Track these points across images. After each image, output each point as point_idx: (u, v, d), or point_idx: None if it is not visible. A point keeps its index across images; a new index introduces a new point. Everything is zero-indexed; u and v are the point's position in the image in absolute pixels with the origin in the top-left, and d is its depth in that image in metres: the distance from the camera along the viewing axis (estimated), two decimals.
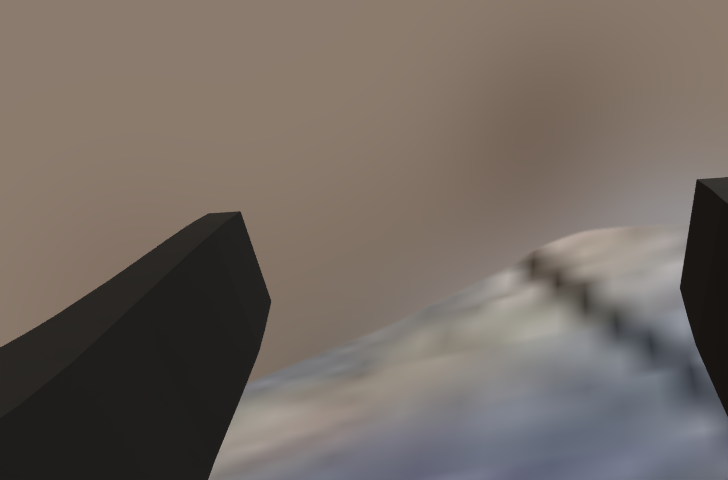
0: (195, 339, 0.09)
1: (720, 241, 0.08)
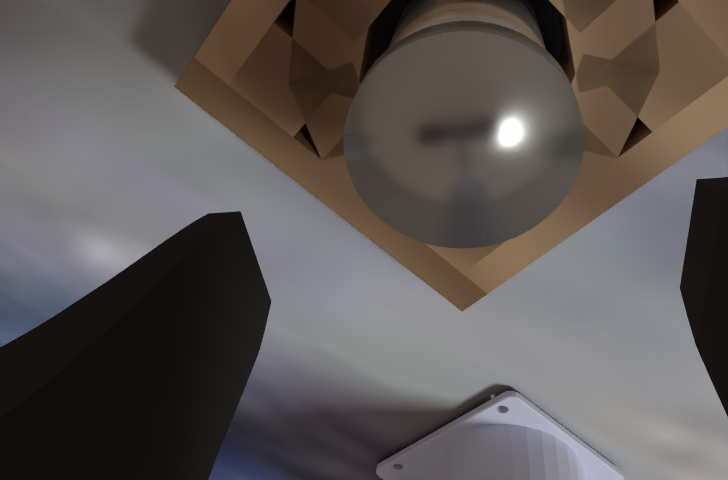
0: (195, 339, 0.09)
1: (720, 241, 0.08)
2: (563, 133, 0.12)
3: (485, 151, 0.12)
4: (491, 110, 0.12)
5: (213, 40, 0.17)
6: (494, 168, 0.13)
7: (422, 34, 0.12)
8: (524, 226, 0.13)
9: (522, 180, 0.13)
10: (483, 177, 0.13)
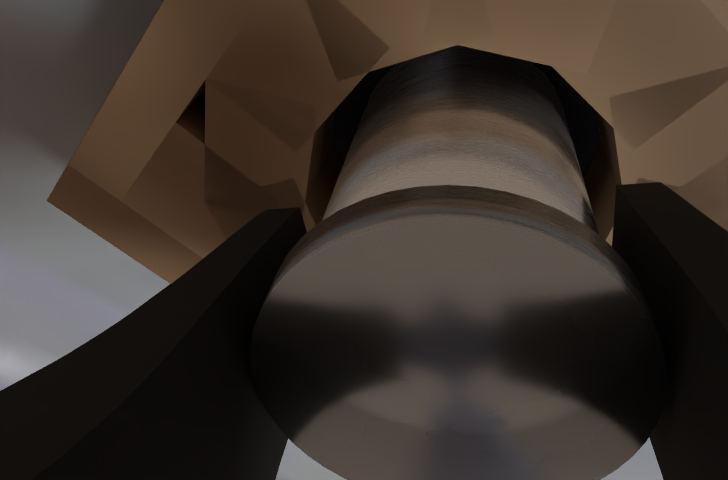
0: None
1: (631, 245, 0.08)
2: (629, 381, 0.07)
3: (490, 395, 0.07)
4: (501, 341, 0.07)
5: (92, 143, 0.11)
6: (505, 417, 0.07)
7: (376, 212, 0.06)
8: None
9: (553, 435, 0.07)
10: (487, 427, 0.08)
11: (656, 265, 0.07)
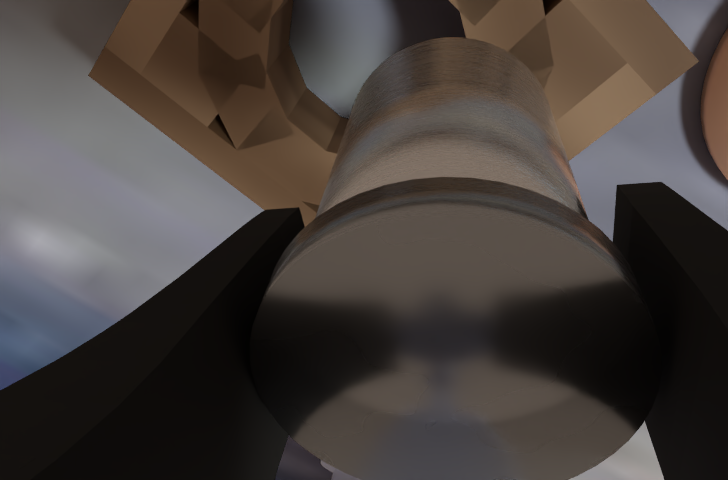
0: None
1: (632, 245, 0.08)
2: (625, 365, 0.07)
3: (489, 384, 0.07)
4: (499, 329, 0.07)
5: (122, 30, 0.17)
6: (504, 406, 0.08)
7: (374, 206, 0.06)
8: (552, 477, 0.08)
9: (551, 422, 0.08)
10: (486, 417, 0.08)
11: (657, 265, 0.07)
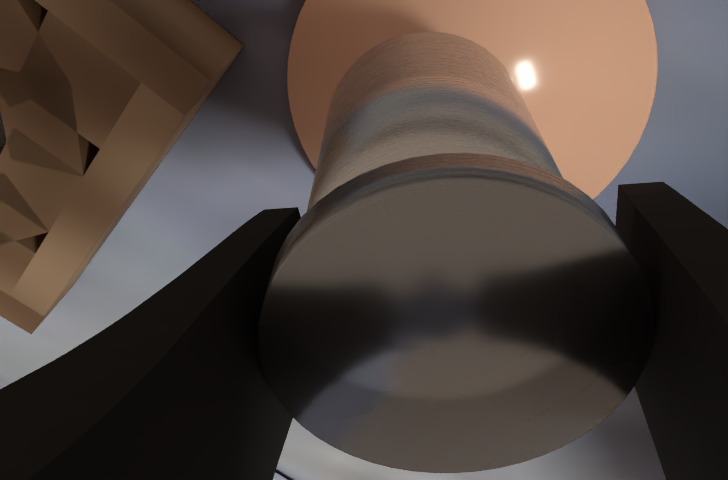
0: None
1: (634, 245, 0.08)
2: (620, 323, 0.07)
3: (493, 352, 0.08)
4: (502, 297, 0.07)
5: None
6: (508, 373, 0.08)
7: (377, 184, 0.07)
8: (555, 441, 0.09)
9: (552, 386, 0.08)
10: (490, 386, 0.08)
11: (659, 265, 0.07)
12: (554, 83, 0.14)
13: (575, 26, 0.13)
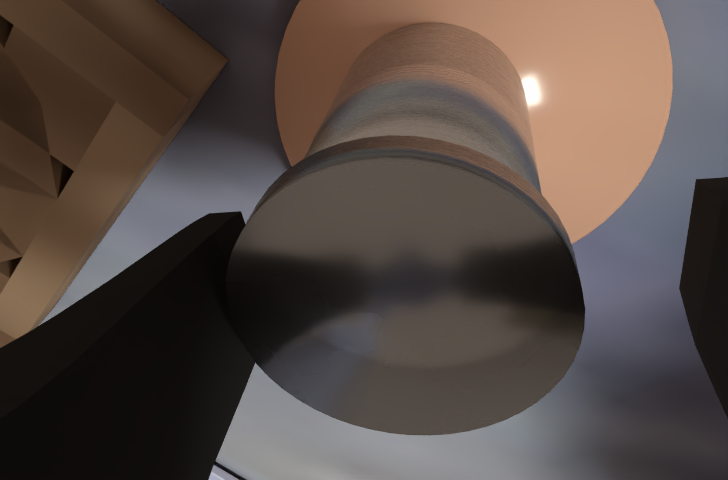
0: (195, 339, 0.09)
1: (719, 241, 0.08)
2: (551, 303, 0.08)
3: (435, 322, 0.08)
4: (439, 270, 0.08)
5: None
6: (450, 343, 0.08)
7: (327, 159, 0.07)
8: (500, 413, 0.09)
9: (493, 359, 0.09)
10: (435, 354, 0.09)
11: None
12: (561, 101, 0.13)
13: (584, 42, 0.12)
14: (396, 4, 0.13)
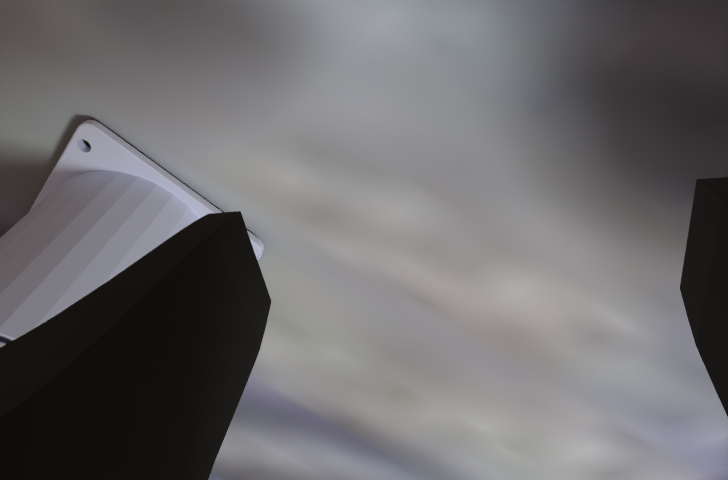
0: (195, 339, 0.09)
1: (720, 241, 0.08)
2: None
3: None
4: None
5: None
6: None
7: None
8: None
9: None
10: None
11: None
12: None
13: None
14: None
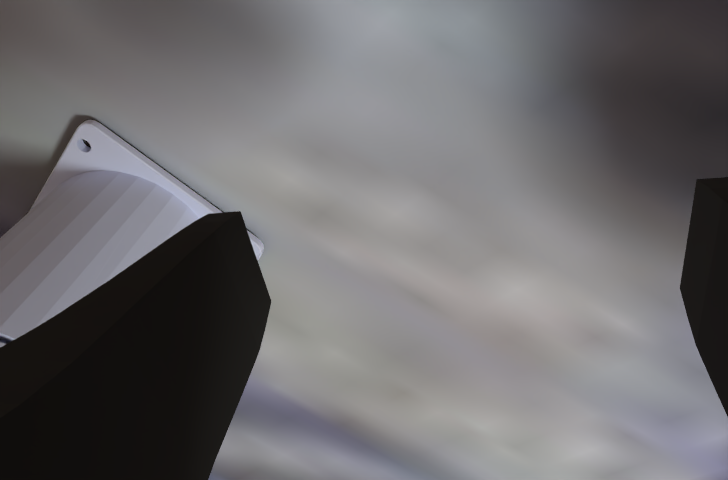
0: (195, 339, 0.09)
1: (720, 241, 0.08)
2: None
3: None
4: None
5: None
6: None
7: None
8: None
9: None
10: None
11: None
12: None
13: None
14: None
